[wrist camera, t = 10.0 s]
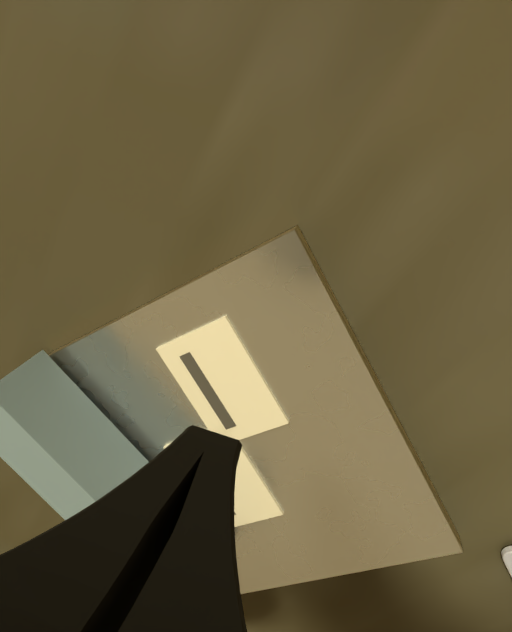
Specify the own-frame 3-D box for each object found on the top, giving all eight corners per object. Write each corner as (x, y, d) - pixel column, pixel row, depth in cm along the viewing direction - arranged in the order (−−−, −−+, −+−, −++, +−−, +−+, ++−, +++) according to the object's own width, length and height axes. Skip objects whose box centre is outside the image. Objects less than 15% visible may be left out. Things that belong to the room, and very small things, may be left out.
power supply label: (289, 420, 22) (288, 423, 22) (220, 444, 23) (219, 447, 23) (226, 315, 20) (225, 317, 20) (157, 347, 22) (155, 349, 22)
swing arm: (262, 566, 25) (242, 650, 21) (210, 586, 27) (182, 668, 23) (52, 341, 22) (-18, 390, 18) (8, 379, 24) (-65, 432, 20)
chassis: (459, 535, 23) (481, 634, 19) (220, 584, 29) (194, 668, 25) (297, 224, 19) (276, 256, 15) (52, 351, 25) (-18, 402, 20)
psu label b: (283, 511, 24) (282, 515, 24) (221, 527, 26) (220, 531, 25) (226, 423, 23) (225, 426, 22) (164, 445, 24) (162, 448, 24)
